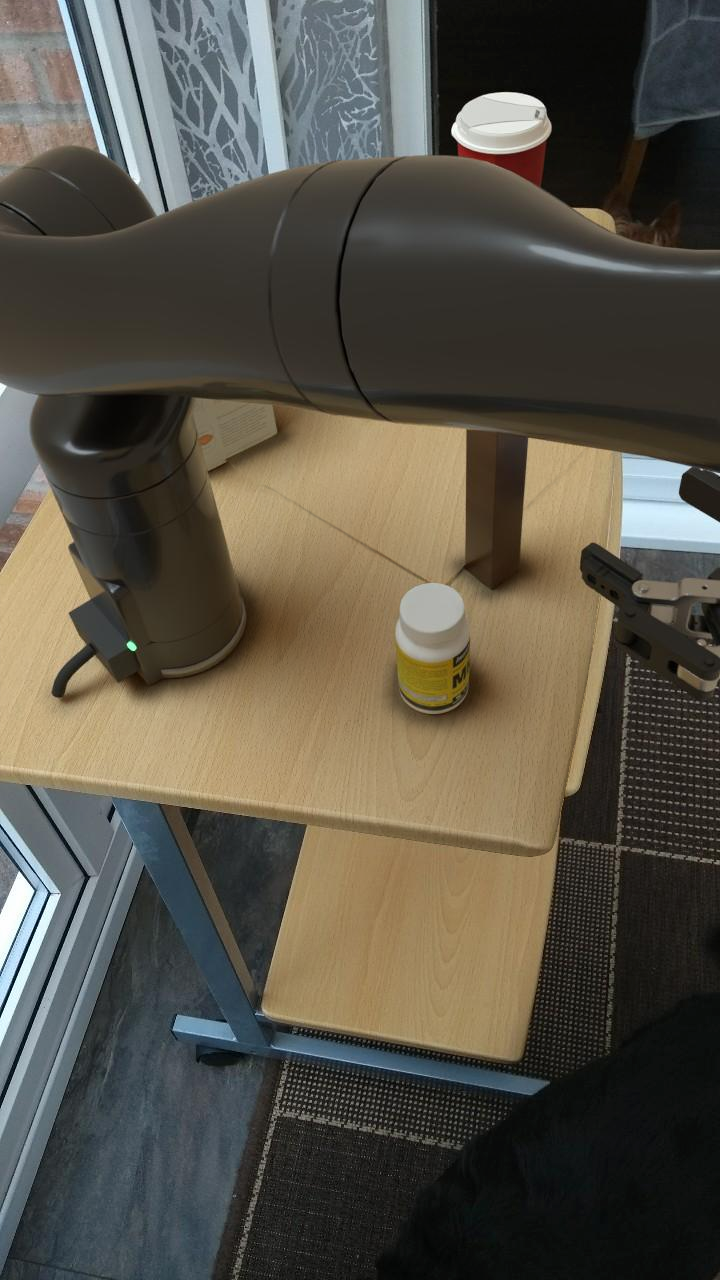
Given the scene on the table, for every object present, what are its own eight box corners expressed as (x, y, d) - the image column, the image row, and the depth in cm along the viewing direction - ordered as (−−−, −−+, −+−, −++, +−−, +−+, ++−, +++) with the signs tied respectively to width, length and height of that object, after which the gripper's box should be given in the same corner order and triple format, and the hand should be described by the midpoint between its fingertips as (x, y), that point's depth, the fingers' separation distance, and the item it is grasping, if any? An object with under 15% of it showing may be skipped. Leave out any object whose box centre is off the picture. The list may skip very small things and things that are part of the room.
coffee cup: (546, 250, 98) (558, 90, 87) (535, 301, 94) (546, 138, 82) (460, 245, 100) (460, 87, 88) (445, 294, 95) (443, 134, 83)
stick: (491, 590, 73) (497, 429, 61) (464, 568, 75) (465, 407, 63) (519, 570, 74) (531, 407, 62) (492, 549, 76) (499, 386, 64)
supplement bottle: (463, 720, 67) (464, 642, 60) (392, 711, 67) (385, 633, 61) (473, 662, 69) (475, 581, 63) (405, 653, 70) (400, 573, 64)
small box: (243, 399, 88) (214, 264, 78) (280, 438, 85) (255, 302, 74) (160, 438, 86) (119, 304, 76) (194, 480, 82) (156, 345, 72)
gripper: (1002, 551, 50) (725, 407, 58) (826, 721, 45) (552, 535, 53) (948, 647, 55) (704, 502, 64) (787, 805, 51) (546, 626, 59)
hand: (635, 517), depth 59 cm, fingers open, 8 cm apart
